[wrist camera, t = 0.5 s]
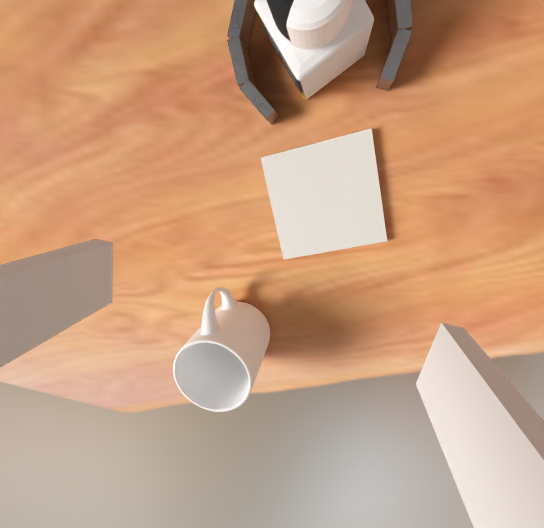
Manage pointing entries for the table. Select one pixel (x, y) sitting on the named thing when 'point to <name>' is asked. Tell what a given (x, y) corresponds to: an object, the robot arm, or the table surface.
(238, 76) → the cradle
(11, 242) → the table surface
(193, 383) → the mug
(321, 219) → the tile
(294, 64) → the medicine bottle
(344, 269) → the table surface
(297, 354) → the table surface
